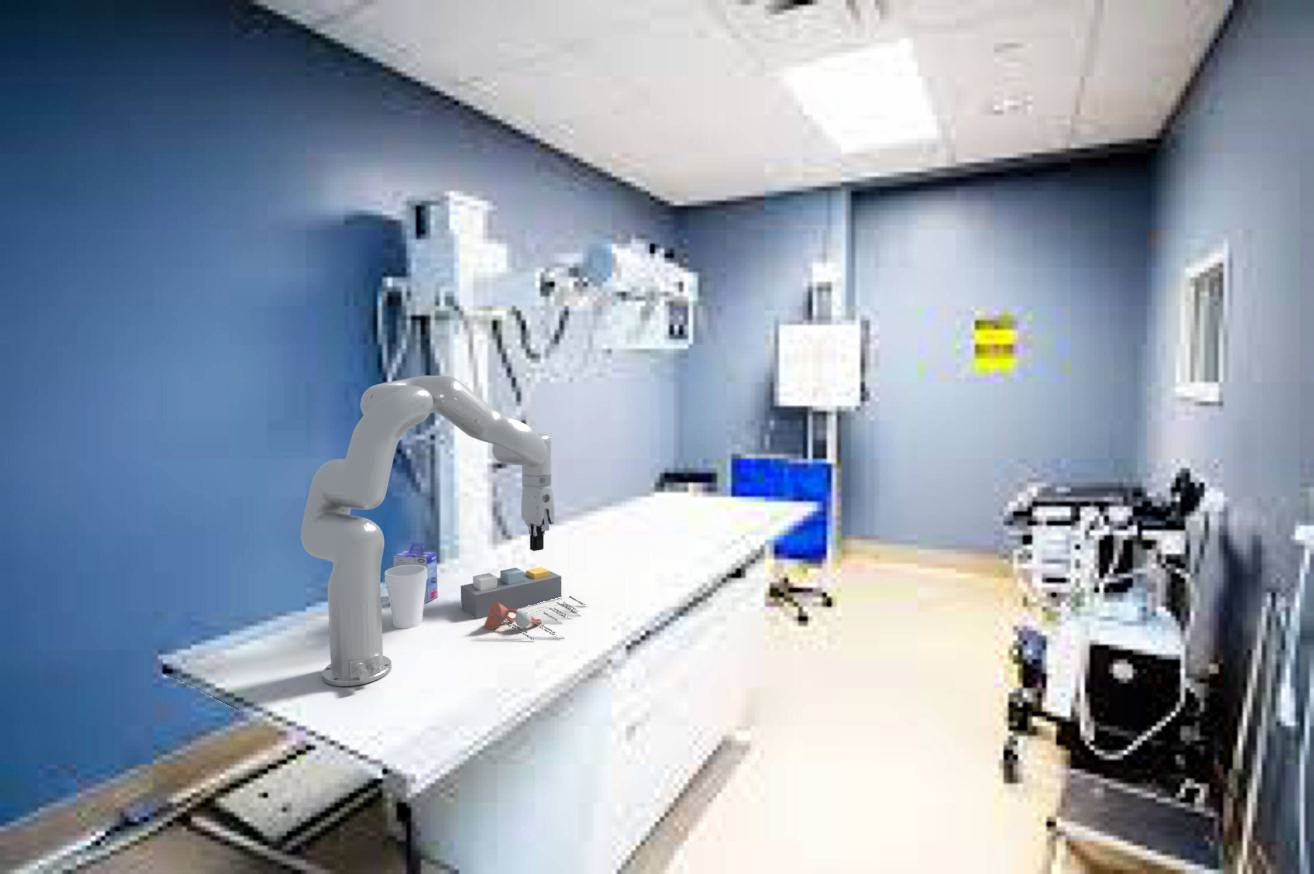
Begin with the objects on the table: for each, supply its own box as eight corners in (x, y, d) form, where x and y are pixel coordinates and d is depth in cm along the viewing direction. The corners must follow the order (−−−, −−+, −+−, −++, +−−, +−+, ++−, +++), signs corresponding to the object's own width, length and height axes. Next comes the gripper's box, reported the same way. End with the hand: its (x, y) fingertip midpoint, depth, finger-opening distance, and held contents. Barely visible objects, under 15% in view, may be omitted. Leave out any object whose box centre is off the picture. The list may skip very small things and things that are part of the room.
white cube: (497, 592, 170) (497, 577, 169) (480, 596, 167) (480, 580, 167) (489, 588, 173) (489, 572, 173) (473, 591, 170) (472, 576, 170)
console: (561, 598, 179) (561, 576, 179) (476, 618, 164) (476, 595, 164) (544, 589, 186) (544, 568, 186) (461, 608, 171) (460, 585, 171)
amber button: (549, 585, 179) (549, 571, 179) (534, 589, 177) (534, 574, 176) (541, 581, 183) (540, 567, 182) (526, 584, 180) (526, 570, 180)
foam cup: (384, 632, 155) (382, 577, 154) (388, 618, 164) (386, 566, 163) (427, 628, 158) (426, 574, 157) (429, 614, 167) (428, 563, 165)
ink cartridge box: (439, 596, 180) (437, 543, 179) (428, 603, 175) (426, 548, 173) (405, 593, 182) (403, 541, 181) (393, 600, 177) (391, 546, 175)
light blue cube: (524, 586, 175) (523, 571, 174) (508, 590, 172) (508, 574, 171) (515, 582, 178) (515, 567, 178) (500, 585, 175) (500, 570, 175)
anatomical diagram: (485, 604, 153) (536, 569, 177) (473, 637, 155) (525, 597, 179) (562, 649, 149) (604, 607, 172) (549, 681, 151) (592, 635, 175)
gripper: (564, 483, 174) (564, 553, 175) (535, 476, 185) (535, 542, 187) (538, 486, 169) (538, 558, 170) (510, 478, 180) (510, 546, 182)
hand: (536, 549), depth 179 cm, fingers closed
